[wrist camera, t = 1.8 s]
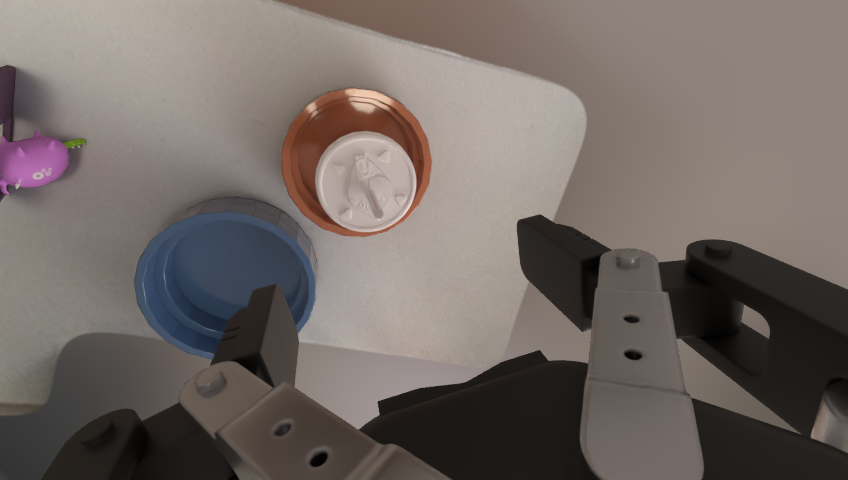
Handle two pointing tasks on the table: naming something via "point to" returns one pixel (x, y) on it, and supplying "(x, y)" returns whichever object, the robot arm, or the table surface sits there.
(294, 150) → the terracotta bowl
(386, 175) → the smoothie
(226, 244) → the blue bowl
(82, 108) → the table surface
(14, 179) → the purple framed piece
